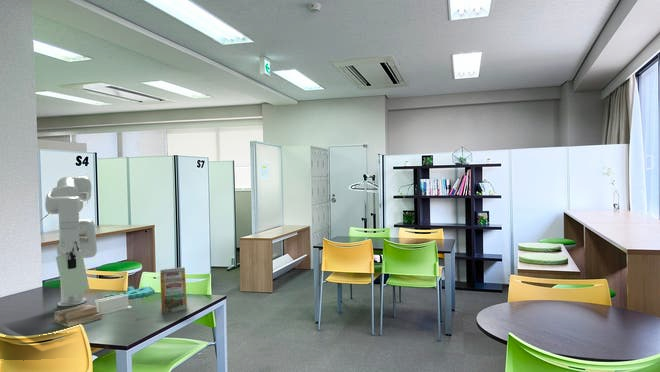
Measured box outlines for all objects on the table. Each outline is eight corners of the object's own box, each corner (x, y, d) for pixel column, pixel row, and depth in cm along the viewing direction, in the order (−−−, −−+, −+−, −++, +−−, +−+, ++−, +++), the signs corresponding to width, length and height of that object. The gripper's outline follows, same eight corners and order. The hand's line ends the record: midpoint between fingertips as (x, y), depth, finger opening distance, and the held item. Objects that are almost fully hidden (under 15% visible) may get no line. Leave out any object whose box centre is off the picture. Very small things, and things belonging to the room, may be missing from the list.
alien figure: (104, 300, 224) (139, 300, 220) (104, 295, 224) (138, 296, 220) (130, 290, 244) (161, 290, 240) (129, 286, 244) (161, 286, 240)
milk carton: (186, 305, 205) (184, 265, 205) (186, 311, 195) (185, 269, 195) (162, 308, 202) (160, 267, 202) (161, 314, 192) (160, 271, 192)
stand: (94, 314, 196) (94, 300, 196) (122, 307, 206) (122, 293, 206) (104, 317, 191) (103, 302, 191) (132, 309, 201) (131, 296, 201)
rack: (54, 325, 183) (54, 312, 183) (87, 316, 193) (86, 304, 193) (68, 330, 174) (68, 317, 174) (102, 321, 184) (101, 308, 184)
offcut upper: (62, 317, 180) (62, 311, 180) (90, 310, 189) (90, 304, 189) (68, 319, 176) (68, 313, 176) (96, 312, 185) (96, 306, 185)
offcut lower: (63, 323, 180) (62, 317, 180) (90, 316, 189) (90, 310, 189) (69, 325, 176) (68, 319, 176) (97, 318, 185) (96, 312, 185)
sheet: (64, 297, 185) (55, 257, 182) (88, 289, 193) (80, 250, 190) (65, 297, 184) (56, 257, 182) (89, 289, 192) (81, 250, 190)
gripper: (52, 226, 188) (54, 268, 188) (67, 227, 179) (69, 271, 179) (71, 224, 194) (73, 265, 194) (86, 225, 185) (88, 268, 185)
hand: (71, 267), depth 187 cm, fingers closed on sheet, 1 cm apart
